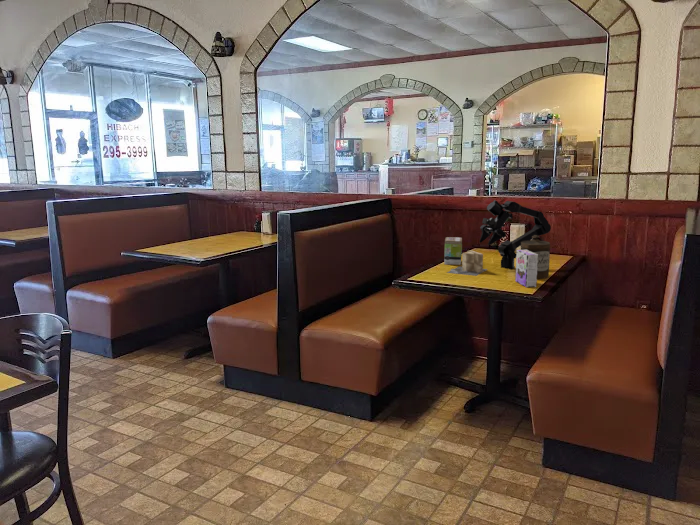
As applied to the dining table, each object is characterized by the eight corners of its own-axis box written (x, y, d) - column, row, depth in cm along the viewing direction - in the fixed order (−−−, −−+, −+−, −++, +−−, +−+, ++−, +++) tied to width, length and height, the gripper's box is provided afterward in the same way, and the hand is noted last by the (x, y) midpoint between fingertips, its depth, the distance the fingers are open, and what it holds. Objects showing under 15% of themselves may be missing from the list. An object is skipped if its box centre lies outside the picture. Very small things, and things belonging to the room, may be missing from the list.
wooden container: (528, 280, 286) (530, 237, 281) (514, 274, 300) (515, 233, 296) (554, 278, 289) (556, 236, 285) (538, 272, 303) (540, 232, 299)
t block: (471, 267, 315) (471, 250, 313) (482, 271, 304) (483, 254, 302) (458, 269, 313) (459, 251, 311) (469, 273, 301) (469, 255, 299)
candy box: (514, 281, 284) (516, 249, 281) (525, 280, 284) (527, 249, 281) (525, 287, 270) (526, 254, 267) (537, 287, 271) (538, 254, 268)
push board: (487, 270, 311) (487, 267, 310) (476, 276, 295) (476, 273, 295) (458, 267, 320) (458, 264, 319) (446, 273, 304) (446, 270, 304)
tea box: (461, 265, 325) (461, 240, 322) (444, 265, 327) (444, 240, 324) (461, 260, 339) (462, 236, 336) (444, 260, 341) (445, 236, 338)
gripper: (481, 210, 315) (466, 233, 315) (499, 213, 297) (482, 237, 297) (495, 221, 319) (479, 244, 318) (513, 225, 301) (496, 249, 301)
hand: (484, 243), depth 308 cm, fingers open, 9 cm apart
